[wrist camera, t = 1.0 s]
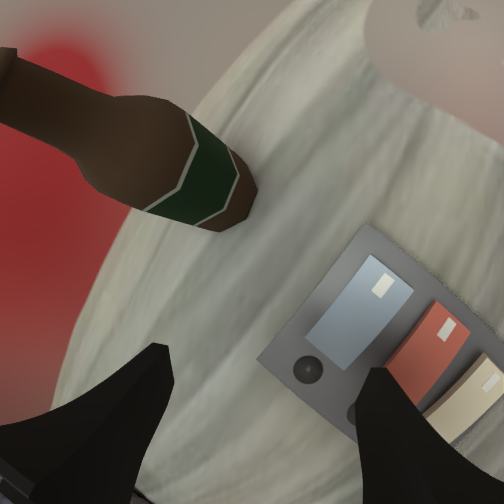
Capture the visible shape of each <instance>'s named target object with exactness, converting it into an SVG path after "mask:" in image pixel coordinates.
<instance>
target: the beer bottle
mask: <svg viewBox="0 0 504 504" xmlns="http://www.w3.org/2000/svg"><path fill="white" fill-rule="evenodd" d="M0 123H2V124H5V125H7V126H9V127H11V128H14V129H16V130H18V131H20V132H22V133H24V134H27V135H29V136H31V137H33V138H36V139H38V140H40V141H42V142H44V143H47V144H49V145H51V146H53V147H55V148H57V149H59V150H60V151H62V152H63V153H65V154H67V155H68V156H70V157H71V158H73V159H74V160H75V161H76V163H77V165H78V167H79V169H80V171H81V173H82V175H83V176H84V178H85V180H86V181H88V183H90V184H91V185H92V186H93V187H94V188H95V189H96V190H97V191H98V192H100V193H102V194H104V195H106V196H108V197H111V198H113V199H115V200H117V201H119V202H121V203H124V204H126V205H129V206H131V207H134V208H136V209H139V210H141V211H144V212H148V213H151V214H155V215H158V216H162V217H165V218H169V219H172V220H176V221H179V222H182V223H186V224H189V225H193V226H196V227H200V228H203V229H207V230H210V231H216V232H220V231H222V230H224V229H226V228H228V227H230V226H232V225H234V224H236V223H238V222H240V221H242V220H244V219H246V217H247V214H248V212H249V209H250V207H251V204H252V202H253V199H254V197H255V194H256V192H257V188H256V186H255V183H254V181H253V178H252V176H251V174H250V171H249V169H248V166H247V164H246V163H245V162H244V161H243V160H242V159H241V158H240V157H239V156H238V155H237V154H236V153H235V152H233V151H232V150H231V149H230V148H229V147H228V146H226V145H225V144H224V143H223V142H222V141H221V140H219V139H218V138H217V137H216V136H215V135H213V134H212V133H211V132H210V131H209V130H208V129H206V128H205V127H204V126H203V125H201V124H200V123H199V122H198V121H197V120H195V119H194V118H193V117H192V116H190V115H189V114H188V113H187V112H185V111H184V110H182V109H181V108H179V107H178V106H176V105H175V104H173V103H171V102H169V101H168V100H165V99H160V98H156V97H151V96H144V95H142V96H140V95H137V96H117V97H113V96H110V95H107V94H104V93H101V92H98V91H95V90H93V89H90V88H88V87H86V86H84V85H82V84H80V83H77V82H75V81H73V80H71V79H69V78H66V77H64V76H62V75H60V74H58V73H55V72H53V71H50V70H48V69H46V68H43V67H41V66H39V65H36V64H34V63H31V62H28V61H26V60H24V59H21V58H19V57H17V49H16V48H6V47H1V48H0Z"/></svg>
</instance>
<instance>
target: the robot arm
mask: <svg viewBox="0 0 504 504" xmlns="http://www.w3.org/2000/svg"><path fill="white" fill-rule="evenodd" d="M174 383H175V382H174V377H173V371H172V366H171V360H170V354H169V347H168V345H163V344H158V343H154V342H153V343H151V344H150V345H149V346H148V347H146V348H145V349H144V350H143V351H141V352H140V353H139V354H138V355H136V356H135V357H134V358H133V359H132V360H130V361H129V362H128V363H127V364H125V365H124V366H123V367H121V368H120V369H119V370H118V371H116V372H115V373H114V374H112V375H111V376H110V377H108V378H107V379H106V380H104V381H103V382H101V383H100V384H98V385H97V386H95V387H94V388H93V389H91V390H90V391H88V392H86V393H85V394H83V395H81V396H80V397H78V398H76V399H74V400H73V401H71V402H69V403H67V404H65V405H63V406H61V407H59V408H56V409H54V410H52V411H49V412H47V413H45V414H42V415H40V416H37V417H34V418H31V419H27V420H24V421H21V422H17V423H12V424H7V425H2V426H0V476H1V477H2V478H3V479H2V480H1V479H0V504H130V502H131V498H132V494H133V490H134V486H135V483H136V479H137V476H138V473H139V470H140V466H141V463H142V460H143V457H144V455H145V453H146V450H147V448H148V446H149V444H150V442H151V439H152V437H153V435H154V433H155V431H156V429H157V427H158V425H159V423H160V420H161V418H162V416H163V414H164V412H165V410H166V407H167V405H168V402H169V399H170V396H171V393H172V390H173V386H174ZM355 426H356V433H357V440H358V446H359V453H360V460H361V468H362V476H363V504H504V482H502V481H500V480H498V479H496V478H494V477H492V476H490V475H489V474H487V473H486V472H484V471H482V470H481V469H479V468H478V467H476V466H475V465H474V464H472V463H471V462H470V461H468V460H467V459H466V458H465V457H463V456H462V455H461V454H460V453H458V452H457V451H456V450H455V449H454V448H453V447H452V446H451V445H450V444H449V443H448V442H447V441H446V440H445V439H444V438H443V437H442V436H441V435H440V434H439V433H438V432H437V431H436V430H435V429H434V428H433V427H432V425H431V424H430V423H429V422H428V421H427V420H426V419H425V417H424V416H423V415H422V414H421V412H420V411H419V410H418V409H417V407H416V406H415V405H414V404H413V402H412V401H411V400H410V398H409V397H408V396H407V394H406V393H405V392H404V390H403V389H402V388H401V386H400V385H399V384H398V382H397V381H396V379H395V378H394V377H393V375H392V374H391V373H390V371H389V370H388V369H387V368H386V367H371V369H370V371H369V373H368V375H367V378H366V380H365V382H364V384H363V386H362V389H361V391H360V393H359V395H358V397H357V399H356V401H355Z"/></svg>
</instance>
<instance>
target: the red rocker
mask: <svg viewBox="0 0 504 504" xmlns="http://www.w3.org/2000/svg"><path fill="white" fill-rule="evenodd" d="M470 333H471V332H470V331H469V330H468V329H467V328H466V327H465V326H464V325H463V324H462V323H461V322H460V321H459V320H458V319H457V318H455V317H454V316H453V315H452V314H451V313H450V312H449V311H448V310H447V309H446V308H445V307H443V306H442V305H441V304H440V303H439V302H438V301H432V302H431V304H430V305H429V307H428V308H427V310H426V311H425V313H424V314H423V315H422V317H421V318H420V320H419V321H418V322H417V324H416V325H415V327H414V328H413V329H412V331H411V332H410V333H409V335H408V336H407V337H406V339H405V340H404V341H403V342H402V344H401V345H400V346H399V348H398V349H397V350H396V351H395V353H394V354H393V355H392V356H391V357H390V359H389V360H388V361H387V362H386V363H385V365H384V366H383V367H386V368H387V369H388V370H389V371H390V373H391V374H392V375H393V377H394V378H395V379H396V381H397V382H398V384H399V385H400V386H401V388H402V389H403V390H404V392H405V393H406V394H407V396H408V397H409V398H410V400H411V401H412V402H413V404H414V405H415V406H416V405H417V404H418V402H419V401H420V400H421V399H422V398H423V397H424V395H425V394H426V393H427V392H428V391H429V390H430V388H431V387H432V386H433V385H434V383H435V382H436V381H437V380H438V378H439V377H440V376H441V374H442V373H443V372H444V370H445V369H446V368H447V366H448V365H449V364H450V362H451V361H452V360H453V358H454V357H455V355H456V354H457V352H458V351H459V350H460V348H461V347H462V345H463V344H464V342H465V341H466V339H467V337H468V336H469V334H470Z"/></svg>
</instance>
